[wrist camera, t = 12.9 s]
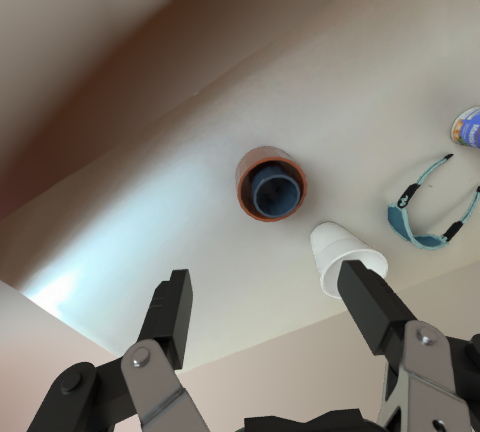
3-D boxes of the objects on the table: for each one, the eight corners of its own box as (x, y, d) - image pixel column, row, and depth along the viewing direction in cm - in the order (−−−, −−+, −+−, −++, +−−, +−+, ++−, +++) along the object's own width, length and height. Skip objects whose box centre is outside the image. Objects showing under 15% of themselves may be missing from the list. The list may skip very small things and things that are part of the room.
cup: (292, 224, 41) (313, 264, 32) (346, 203, 40) (384, 239, 30) (307, 262, 46) (329, 307, 36) (355, 244, 44) (391, 287, 35)
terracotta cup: (234, 147, 34) (236, 157, 28) (297, 145, 34) (311, 155, 29) (236, 203, 39) (238, 223, 33) (291, 201, 39) (302, 220, 33)
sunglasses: (370, 216, 41) (391, 228, 37) (432, 145, 38) (463, 148, 33) (416, 249, 46) (439, 263, 41) (475, 188, 42) (508, 196, 37)
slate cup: (248, 158, 35) (254, 175, 28) (286, 157, 35) (302, 174, 28) (247, 195, 37) (253, 218, 30) (283, 193, 38) (297, 216, 31)
